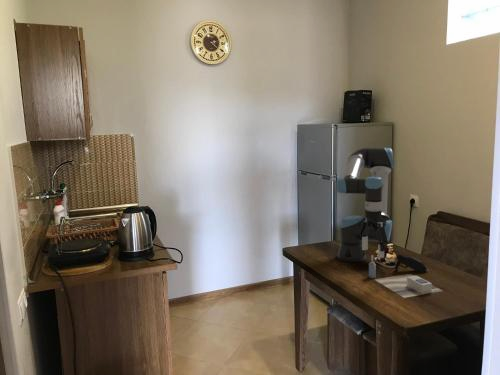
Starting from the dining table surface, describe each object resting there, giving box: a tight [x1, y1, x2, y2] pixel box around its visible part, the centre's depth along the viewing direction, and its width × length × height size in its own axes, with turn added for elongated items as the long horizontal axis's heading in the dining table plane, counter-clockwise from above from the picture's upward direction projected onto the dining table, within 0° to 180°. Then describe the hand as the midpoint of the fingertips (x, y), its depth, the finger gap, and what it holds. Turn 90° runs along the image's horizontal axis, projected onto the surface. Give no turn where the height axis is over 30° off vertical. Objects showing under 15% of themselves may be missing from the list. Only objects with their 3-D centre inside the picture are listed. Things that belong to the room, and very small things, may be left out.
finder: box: [407, 275, 433, 295], centre depth 180 cm, size 10×5×4 cm, turn 16°
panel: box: [373, 273, 443, 299], centre depth 185 cm, size 22×20×1 cm
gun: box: [394, 253, 429, 273], centre depth 202 cm, size 3×16×10 cm, turn 79°
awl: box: [368, 254, 377, 279], centre depth 196 cm, size 3×3×11 cm
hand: (372, 253), depth 194 cm, fingers open, 13 cm apart
